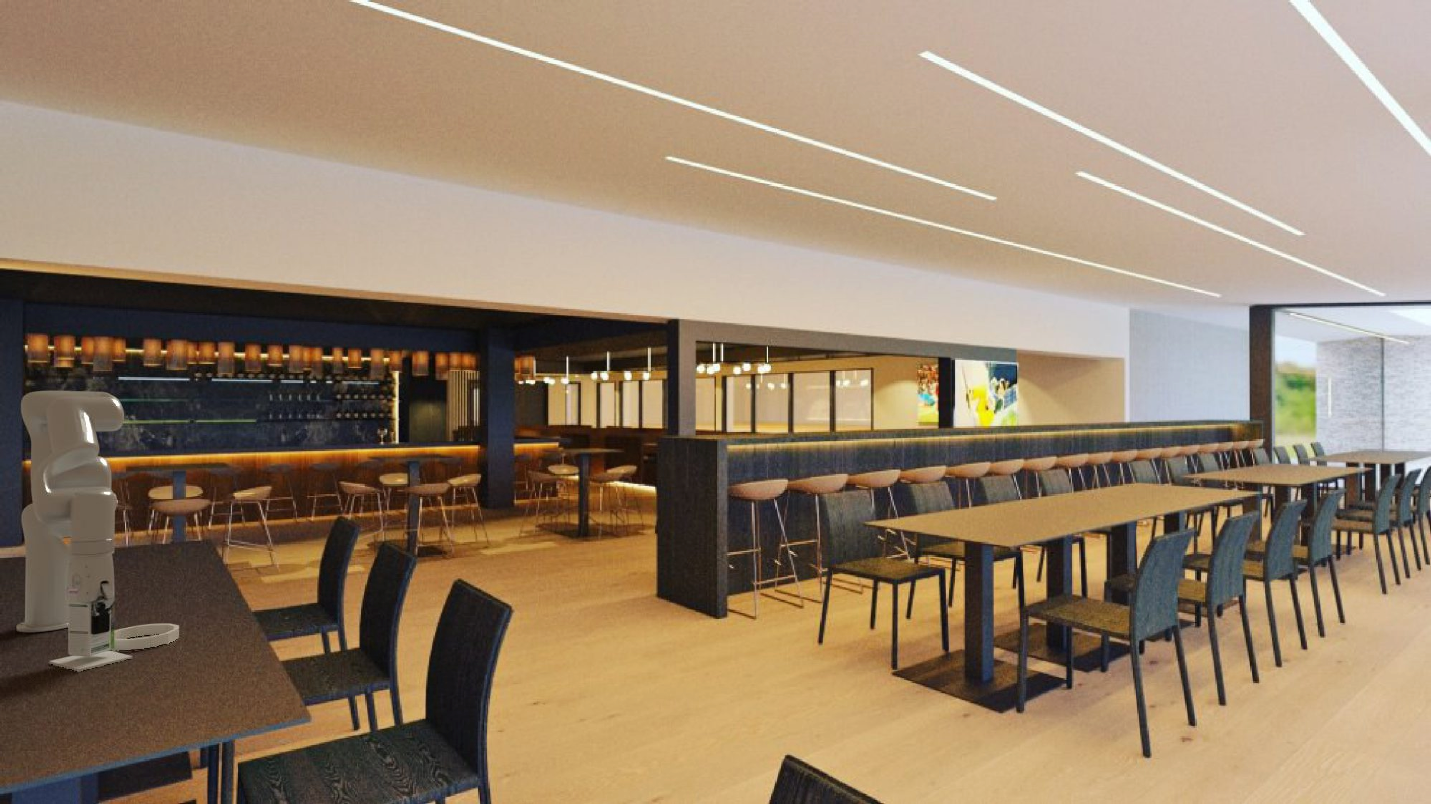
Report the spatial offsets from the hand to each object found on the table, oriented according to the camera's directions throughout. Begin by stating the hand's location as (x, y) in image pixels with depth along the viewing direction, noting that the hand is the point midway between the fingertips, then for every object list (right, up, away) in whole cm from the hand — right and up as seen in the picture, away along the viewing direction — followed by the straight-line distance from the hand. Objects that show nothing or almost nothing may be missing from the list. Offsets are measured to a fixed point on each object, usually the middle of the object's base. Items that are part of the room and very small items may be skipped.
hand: (91, 630), depth 170 cm
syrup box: (0, -5, 0) cm, 5 cm away
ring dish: (+1, -7, +14) cm, 16 cm away
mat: (0, -7, 0) cm, 7 cm away
